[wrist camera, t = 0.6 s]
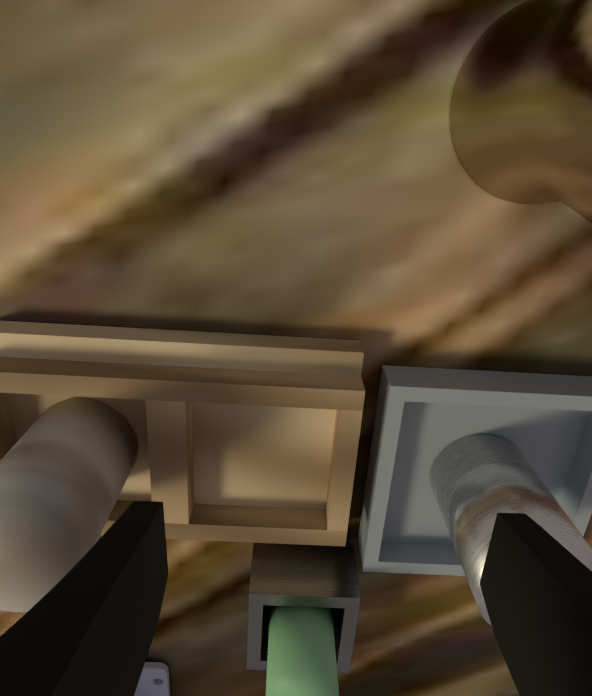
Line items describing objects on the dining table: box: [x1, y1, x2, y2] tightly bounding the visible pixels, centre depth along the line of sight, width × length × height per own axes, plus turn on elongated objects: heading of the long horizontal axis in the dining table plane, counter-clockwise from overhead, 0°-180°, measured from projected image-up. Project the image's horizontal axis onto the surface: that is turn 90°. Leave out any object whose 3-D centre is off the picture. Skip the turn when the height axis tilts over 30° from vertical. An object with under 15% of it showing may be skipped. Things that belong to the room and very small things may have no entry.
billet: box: [429, 433, 592, 626], centre depth 18 cm, size 4×4×6 cm
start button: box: [266, 605, 339, 696], centre depth 21 cm, size 3×3×4 cm
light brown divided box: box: [0, 321, 365, 612], centre depth 18 cm, size 9×14×7 cm, turn 87°
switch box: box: [246, 543, 361, 673], centre depth 23 cm, size 5×5×3 cm
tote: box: [358, 365, 592, 576], centre depth 21 cm, size 9×9×2 cm
